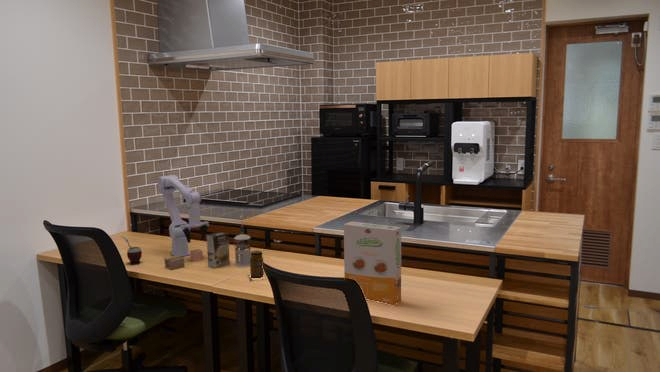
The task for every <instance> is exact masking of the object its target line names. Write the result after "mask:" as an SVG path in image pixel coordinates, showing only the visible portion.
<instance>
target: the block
mask: <svg viewBox="0 0 660 372" xmlns="http://www.w3.org/2000/svg"><path fill="white" fill-rule="evenodd" d="M190 253H191V255H190V260H191V261H193V262H200V261H203V260H204V259H203V250H202V249H200V248H197V249H193V250H190Z"/></svg>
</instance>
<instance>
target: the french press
mask: <svg viewBox="0 0 660 372" xmlns="http://www.w3.org/2000/svg"><path fill="white" fill-rule="evenodd" d="M243 218H244V216H243V215H239V219H241V221H240V222H241V226H243ZM233 239H234V242H236V243H237V244H235V247H234V251H235V252H234V254H235V255H234V256H235V262H234V263H233V266H234V267H237V268H246V267H250V258H251V252H252V249H251V248H252V247H250V244H249V243H243V241H247V240H248V241H249V240H250V239H251V236H250V235H248V234H244V233H240V234H238V235H236V236H234V238H233ZM240 242H241V243H240Z"/></svg>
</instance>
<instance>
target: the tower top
mask: <svg viewBox="0 0 660 372" xmlns="http://www.w3.org/2000/svg"><path fill="white" fill-rule="evenodd" d="M163 259H164V260H163V261H164V265H165V264H167V265H170V266H175V265H179V264H183V263H184V264H185V257H183V256H181V257H180V256H174V255H173V256H170V257H165V258H163Z"/></svg>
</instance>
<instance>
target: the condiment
mask: <svg viewBox="0 0 660 372" xmlns="http://www.w3.org/2000/svg"><path fill="white" fill-rule="evenodd" d="M250 254H251V256H250V257H251V258H250V266H249V267H250V274H248V278H249V276H250V275H251V278H261V277H263V275H265V271H263V268H264V267H263V268H262V263H263V264H264V257H263V251H261V250H253V251H252V250H251V253H250ZM251 278H249V281H252V279H251Z"/></svg>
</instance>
